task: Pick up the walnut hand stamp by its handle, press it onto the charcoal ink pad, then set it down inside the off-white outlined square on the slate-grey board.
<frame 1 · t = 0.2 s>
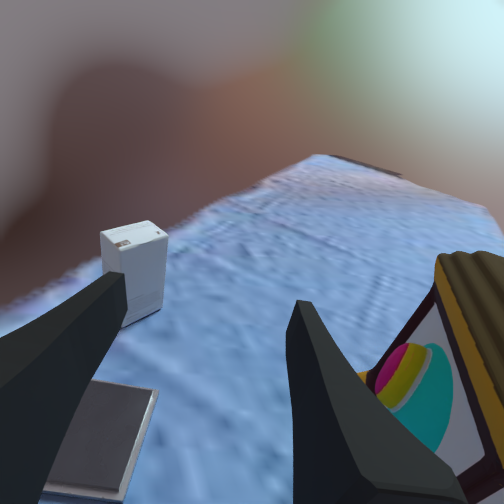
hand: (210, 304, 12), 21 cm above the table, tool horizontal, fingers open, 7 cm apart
skincare box: (134, 311, 38), on the table
ink pad: (92, 432, 26), on the table
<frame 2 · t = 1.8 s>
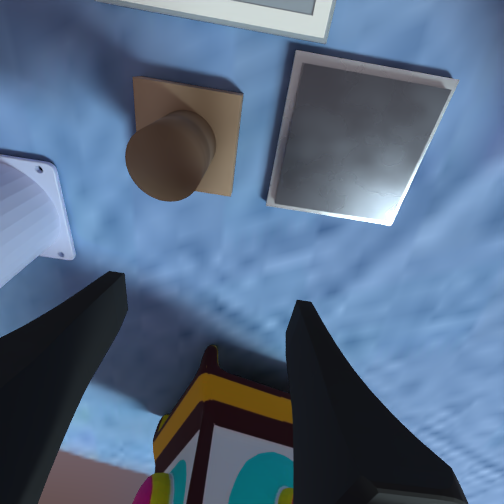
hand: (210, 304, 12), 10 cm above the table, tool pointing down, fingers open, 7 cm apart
stamp: (191, 137, 19), on the table
ink pad: (348, 148, 18), on the table
decorative lantern: (248, 402, 36), on the table
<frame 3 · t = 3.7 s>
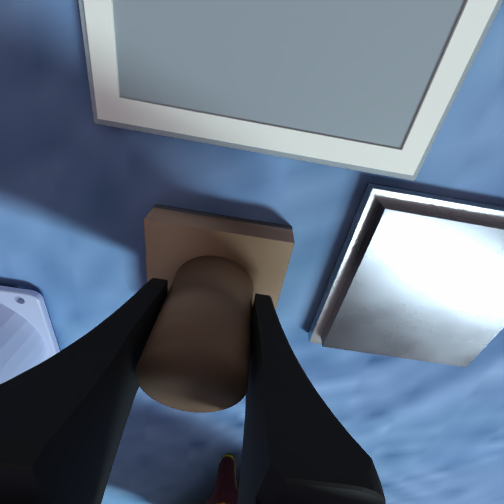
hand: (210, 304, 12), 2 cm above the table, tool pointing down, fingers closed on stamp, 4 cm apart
stamp: (217, 269, 14), on the table, touching gripper
ink pad: (421, 285, 14), on the table
decorative lantern: (264, 498, 31), on the table
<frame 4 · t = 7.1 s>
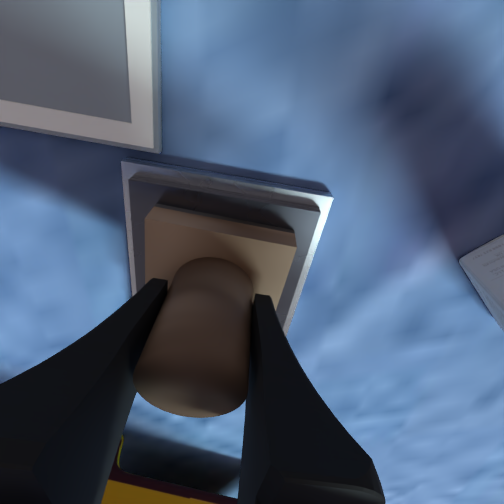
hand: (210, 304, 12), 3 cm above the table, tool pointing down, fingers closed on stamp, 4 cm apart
stamp: (217, 271, 14), point 1 cm above the table, touching gripper, ink pad
ink pad: (220, 258, 15), on the table
decorative lantern: (173, 480, 32), on the table
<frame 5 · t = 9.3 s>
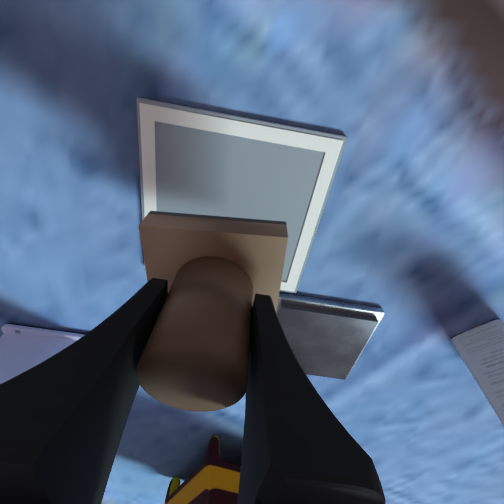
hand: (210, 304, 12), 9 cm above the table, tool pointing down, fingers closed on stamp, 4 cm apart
stamp: (218, 270, 14), point 7 cm above the table, touching gripper
skincare box: (481, 342, 26), on the table
ink pad: (314, 336, 26), on the table
decorative lantern: (243, 469, 43), on the table
marked board: (231, 211, 20), on the table
when the fingers open (4 cm above the table, at t = 10.8 s): stamp stays where it is, resting on marked board.
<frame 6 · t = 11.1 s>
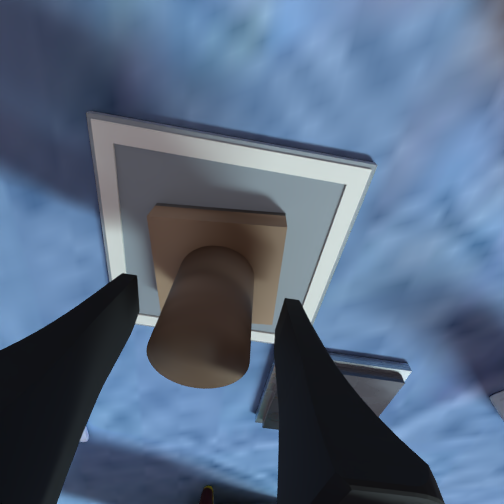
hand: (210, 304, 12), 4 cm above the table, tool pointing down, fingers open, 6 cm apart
stamp: (220, 260, 15), resting on marked board
ink pad: (324, 391, 22), on the table
marked board: (221, 254, 15), on the table
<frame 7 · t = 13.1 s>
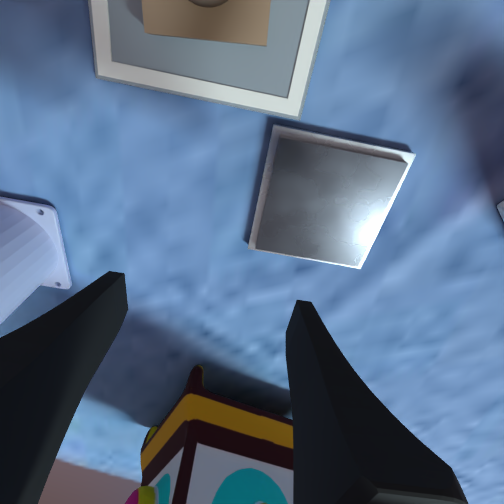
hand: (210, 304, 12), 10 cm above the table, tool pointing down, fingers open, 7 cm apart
ink pad: (321, 203, 21), on the table
decorative lantern: (232, 416, 38), on the table
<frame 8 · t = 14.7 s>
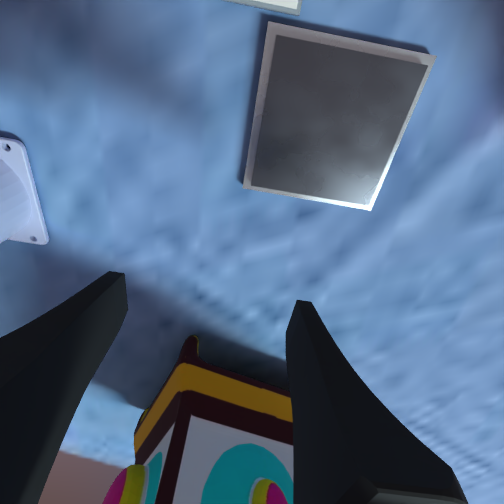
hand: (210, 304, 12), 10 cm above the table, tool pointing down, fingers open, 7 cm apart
ink pad: (325, 128, 18), on the table
decorative lantern: (231, 395, 35), on the table
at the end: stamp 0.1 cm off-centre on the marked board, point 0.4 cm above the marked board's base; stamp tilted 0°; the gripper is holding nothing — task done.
